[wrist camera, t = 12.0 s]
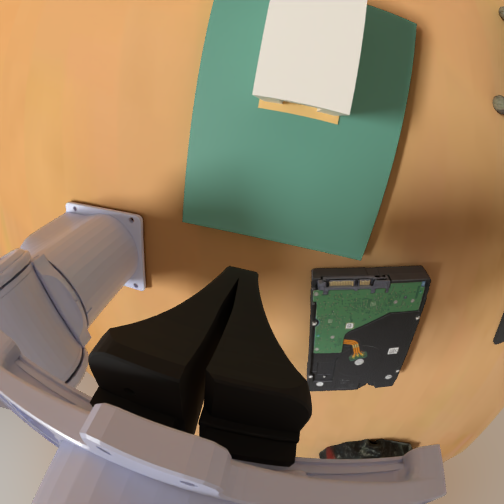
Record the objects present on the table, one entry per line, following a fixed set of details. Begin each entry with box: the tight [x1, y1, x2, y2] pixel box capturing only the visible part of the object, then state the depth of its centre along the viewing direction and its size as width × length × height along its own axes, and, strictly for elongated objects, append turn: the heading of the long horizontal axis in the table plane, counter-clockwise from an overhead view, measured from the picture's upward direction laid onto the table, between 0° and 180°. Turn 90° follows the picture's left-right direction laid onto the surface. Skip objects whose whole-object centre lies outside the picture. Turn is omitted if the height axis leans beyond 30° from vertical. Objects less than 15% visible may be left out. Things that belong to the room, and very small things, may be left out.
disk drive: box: [307, 266, 431, 391], centre depth 24 cm, size 10×3×15 cm
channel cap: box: [252, 0, 367, 116], centre depth 11 cm, size 5×8×5 cm, turn 171°
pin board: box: [182, 0, 417, 261], centre depth 15 cm, size 14×19×4 cm
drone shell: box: [319, 439, 412, 459], centre depth 37 cm, size 21×20×8 cm
